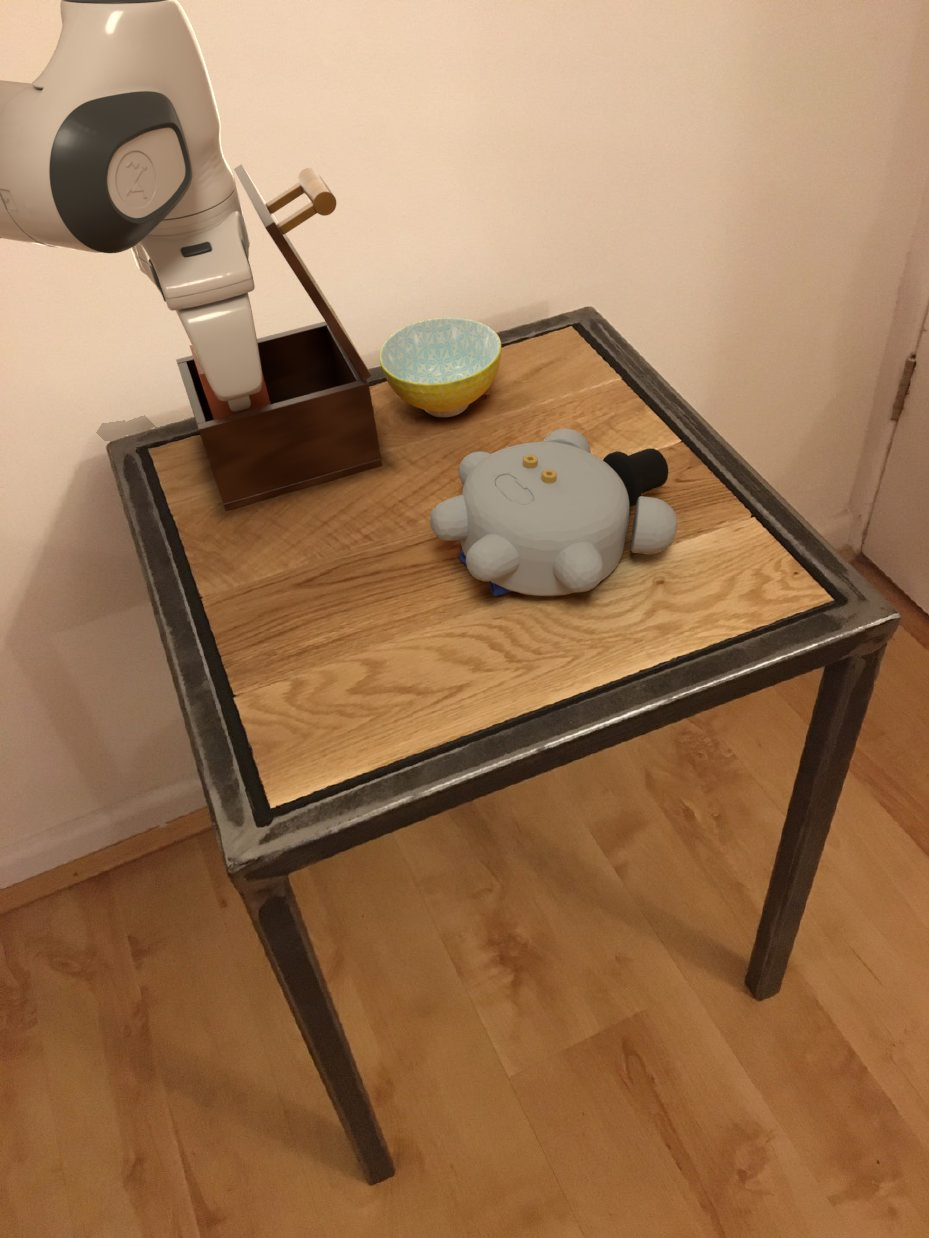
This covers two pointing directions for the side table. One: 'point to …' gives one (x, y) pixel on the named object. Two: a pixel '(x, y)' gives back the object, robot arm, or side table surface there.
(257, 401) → the block
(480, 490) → the figurine
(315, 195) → the lid
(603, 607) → the side table surface
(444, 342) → the bowl
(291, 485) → the chest
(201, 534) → the side table surface
